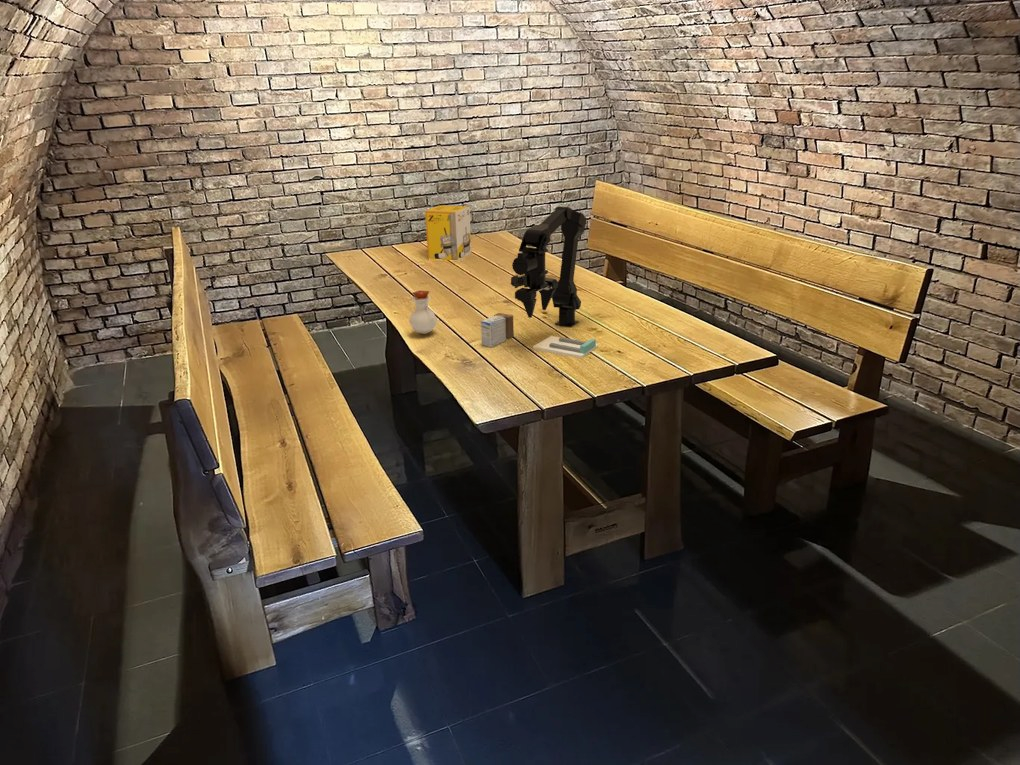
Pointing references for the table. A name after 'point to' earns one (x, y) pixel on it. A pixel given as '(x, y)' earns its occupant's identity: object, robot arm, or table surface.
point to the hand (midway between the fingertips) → (537, 313)
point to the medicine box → (493, 331)
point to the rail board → (566, 346)
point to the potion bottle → (422, 314)
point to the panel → (508, 324)
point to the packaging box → (448, 232)
